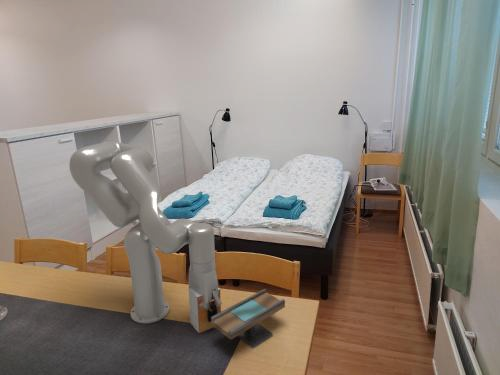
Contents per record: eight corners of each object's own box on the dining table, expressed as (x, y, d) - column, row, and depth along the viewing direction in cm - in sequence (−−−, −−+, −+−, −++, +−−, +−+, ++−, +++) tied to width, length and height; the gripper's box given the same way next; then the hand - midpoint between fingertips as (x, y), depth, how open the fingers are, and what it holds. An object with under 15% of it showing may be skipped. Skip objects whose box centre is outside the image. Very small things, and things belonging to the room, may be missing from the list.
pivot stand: (227, 328, 114) (226, 313, 112) (246, 317, 119) (246, 303, 117) (253, 348, 105) (253, 332, 104) (272, 335, 110) (272, 320, 109)
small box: (198, 334, 111) (196, 297, 108) (190, 323, 116) (187, 287, 113) (222, 324, 116) (220, 288, 112) (212, 314, 121) (211, 279, 117)
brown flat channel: (211, 324, 106) (211, 317, 106) (264, 295, 121) (264, 288, 120) (230, 339, 100) (230, 332, 99) (284, 307, 114) (284, 300, 114)
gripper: (176, 257, 114) (180, 307, 119) (209, 278, 101) (212, 332, 106) (196, 250, 119) (199, 298, 124) (230, 269, 106) (232, 321, 111)
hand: (205, 313), depth 115 cm, fingers closed on small box, 6 cm apart
